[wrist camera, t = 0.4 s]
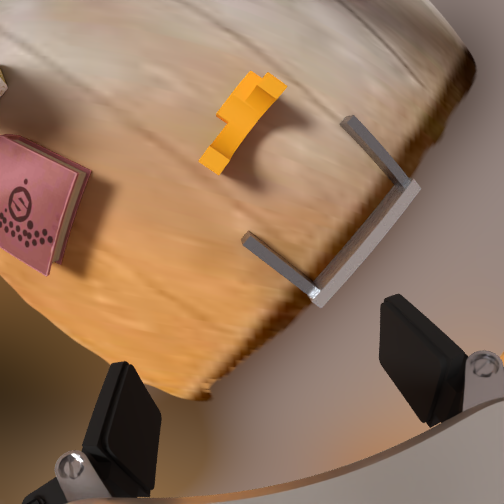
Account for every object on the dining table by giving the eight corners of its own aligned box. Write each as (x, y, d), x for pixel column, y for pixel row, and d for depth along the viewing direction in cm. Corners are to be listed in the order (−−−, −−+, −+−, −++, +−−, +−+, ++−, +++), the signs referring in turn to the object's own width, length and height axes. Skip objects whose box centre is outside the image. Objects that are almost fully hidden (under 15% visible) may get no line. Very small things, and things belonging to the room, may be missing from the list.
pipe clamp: (247, 77, 32) (254, 62, 26) (275, 97, 34) (287, 86, 28) (189, 152, 35) (184, 152, 29) (218, 172, 36) (218, 175, 30)
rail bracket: (346, 115, 35) (357, 113, 32) (408, 185, 39) (421, 188, 36) (239, 240, 39) (241, 248, 36) (314, 298, 43) (321, 308, 40)
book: (16, 133, 30) (-4, 133, 25) (92, 170, 34) (77, 173, 29) (-7, 221, 33) (-26, 229, 28) (62, 263, 37) (46, 276, 32)
